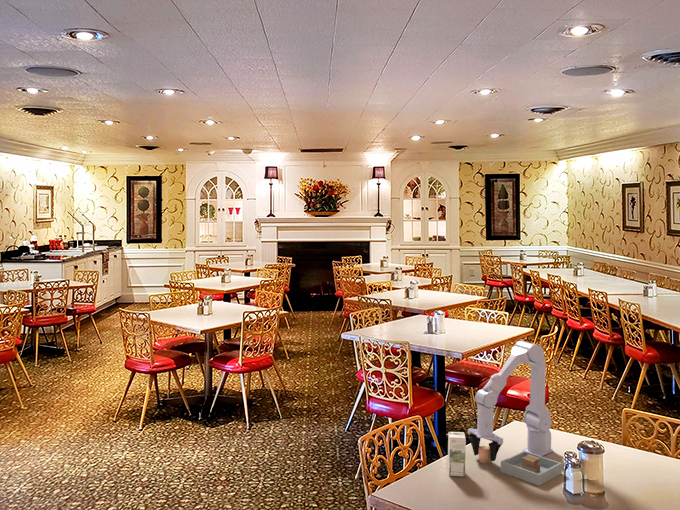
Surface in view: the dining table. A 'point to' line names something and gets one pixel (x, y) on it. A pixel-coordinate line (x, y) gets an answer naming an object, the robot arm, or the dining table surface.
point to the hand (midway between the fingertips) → (484, 457)
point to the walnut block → (531, 463)
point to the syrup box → (456, 454)
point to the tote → (515, 469)
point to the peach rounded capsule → (484, 455)
